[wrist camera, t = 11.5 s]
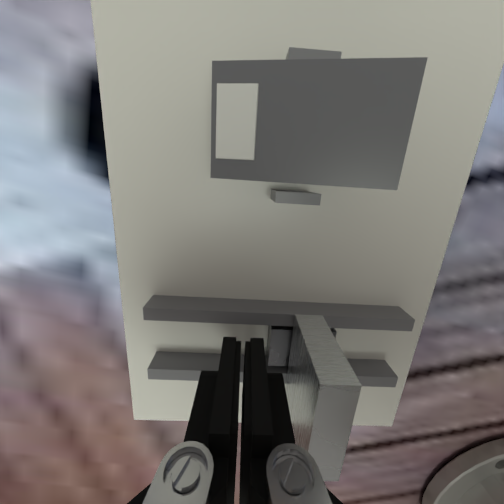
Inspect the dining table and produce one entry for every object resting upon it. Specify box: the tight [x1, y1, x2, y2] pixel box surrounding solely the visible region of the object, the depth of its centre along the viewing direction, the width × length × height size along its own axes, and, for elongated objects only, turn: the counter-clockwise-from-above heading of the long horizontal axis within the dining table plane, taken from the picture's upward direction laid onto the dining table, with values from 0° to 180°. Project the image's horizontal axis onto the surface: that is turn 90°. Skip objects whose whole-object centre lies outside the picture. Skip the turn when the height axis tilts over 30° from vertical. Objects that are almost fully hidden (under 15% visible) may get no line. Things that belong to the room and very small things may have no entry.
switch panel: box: [91, 0, 504, 426], centre depth 10 cm, size 15×30×4 cm, turn 176°
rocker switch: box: [211, 57, 428, 190], centre depth 8 cm, size 6×3×2 cm, turn 86°
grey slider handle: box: [266, 314, 362, 481], centre depth 10 cm, size 3×4×5 cm
